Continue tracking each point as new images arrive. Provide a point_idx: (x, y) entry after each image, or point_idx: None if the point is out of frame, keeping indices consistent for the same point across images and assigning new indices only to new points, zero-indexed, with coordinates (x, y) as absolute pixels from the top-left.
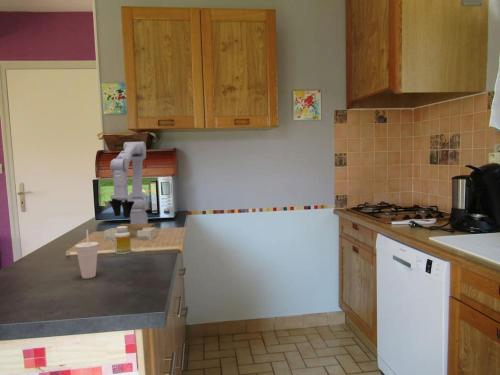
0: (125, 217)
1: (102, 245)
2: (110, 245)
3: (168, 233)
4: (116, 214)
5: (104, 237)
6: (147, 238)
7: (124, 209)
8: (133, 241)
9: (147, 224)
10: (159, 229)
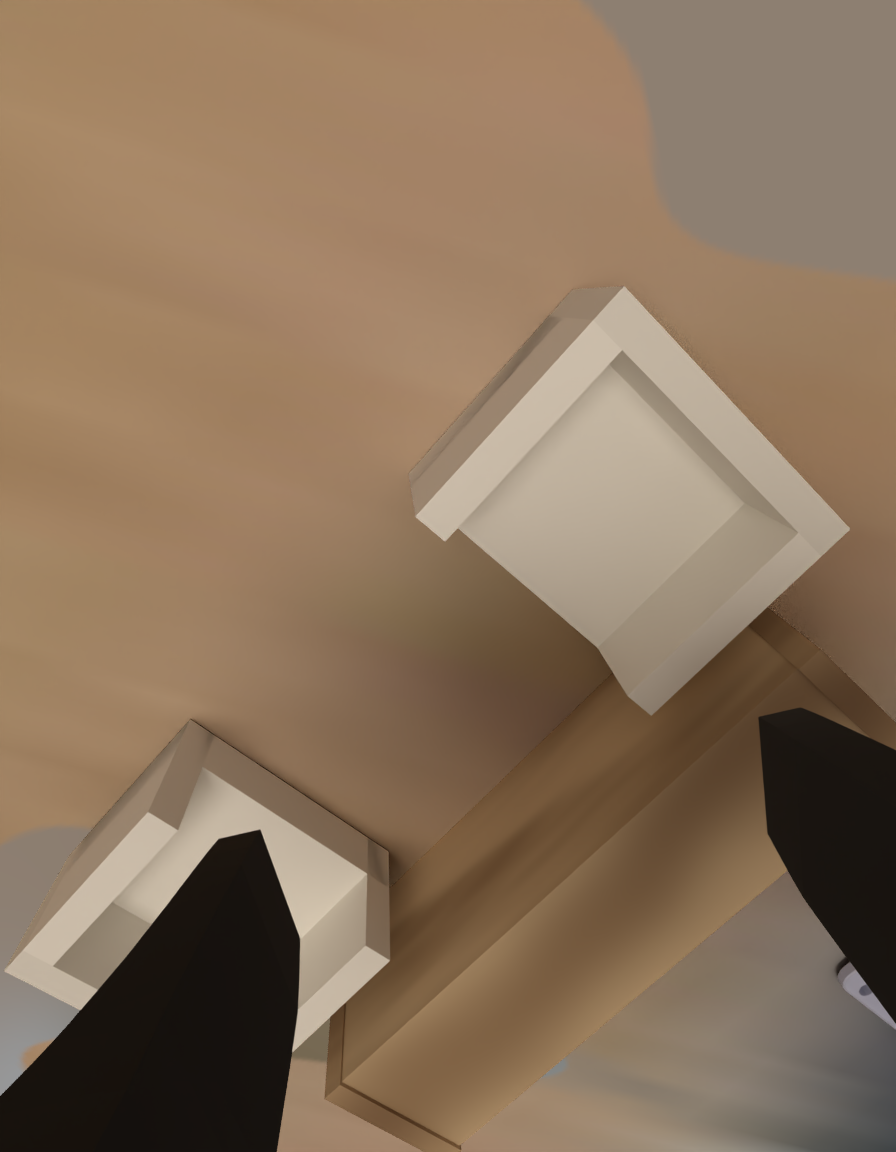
0: (213, 847)
1: (139, 106)
2: (41, 233)
3: (337, 1119)
4: (784, 766)
5: (584, 292)
6: (90, 837)
7: (17, 1081)
8: (123, 639)
9: (447, 1069)
10: (682, 1114)
